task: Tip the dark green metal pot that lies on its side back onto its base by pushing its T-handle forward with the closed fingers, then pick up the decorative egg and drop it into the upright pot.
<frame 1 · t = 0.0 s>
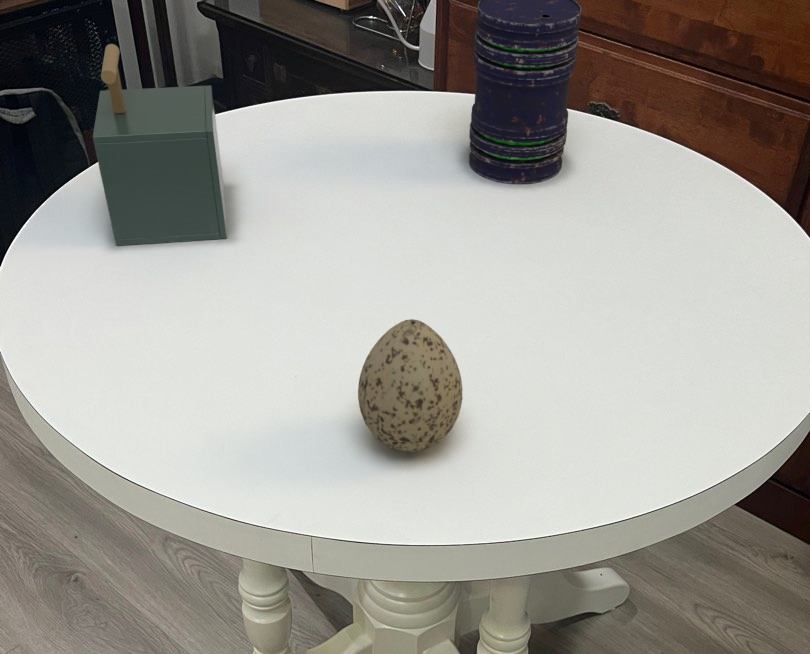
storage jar: (514, 164, 103), on the table
pot: (172, 216, 94), on the table
decorative egg: (409, 444, 71), on the table
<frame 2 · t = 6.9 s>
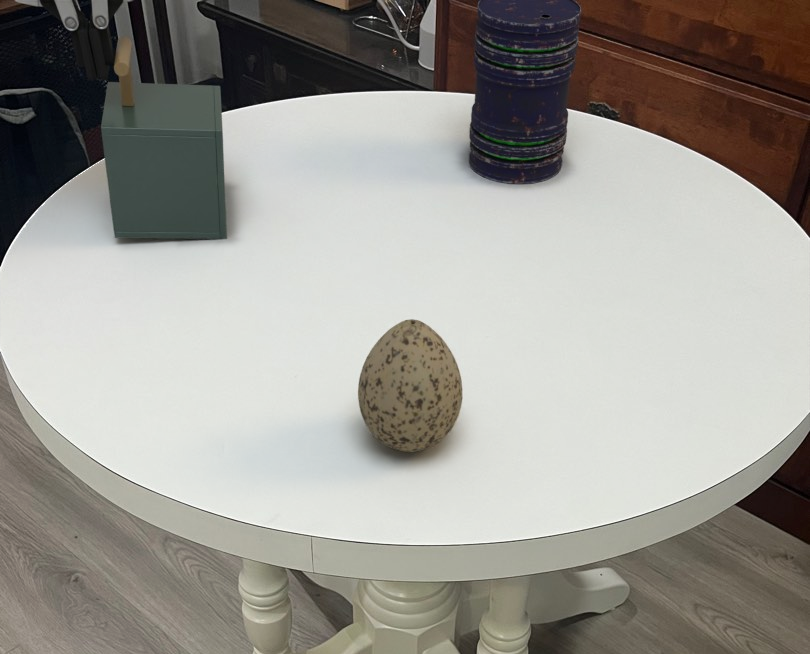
hand: (99, 73, 85), 13 cm above the table, tool pointing down, fingers closed
pot: (172, 212, 94), on the table, touching gripper
everything else where it was.
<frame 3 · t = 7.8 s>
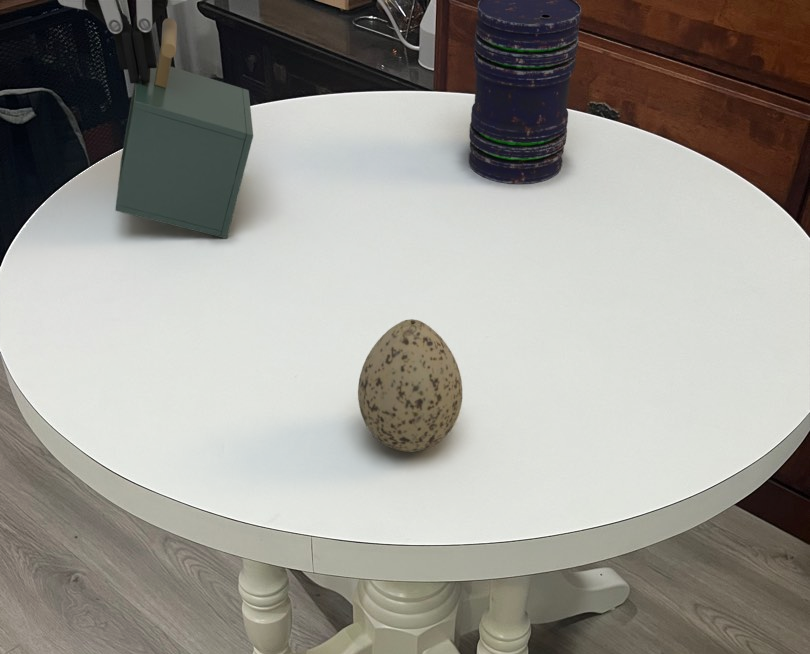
hand: (140, 76, 85), 13 cm above the table, tool pointing down, fingers closed
pot: (172, 199, 93), point 2 cm above the table, tilted 20°, touching gripper
everything else where it was.
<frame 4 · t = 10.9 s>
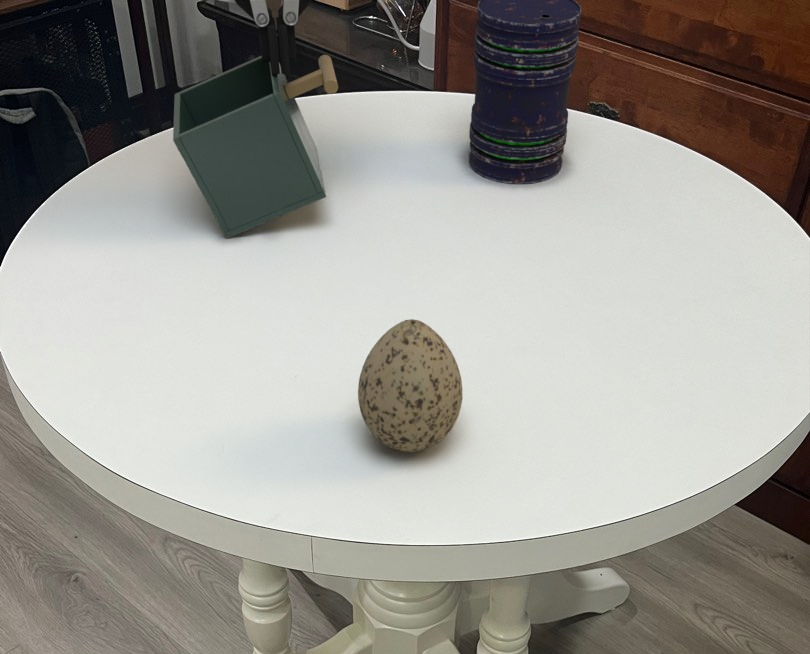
hand: (280, 69, 86), 13 cm above the table, tool pointing down, fingers closed
pot: (200, 166, 91), point 5 cm above the table, tilted 70°, touching gripper
everything else where it was.
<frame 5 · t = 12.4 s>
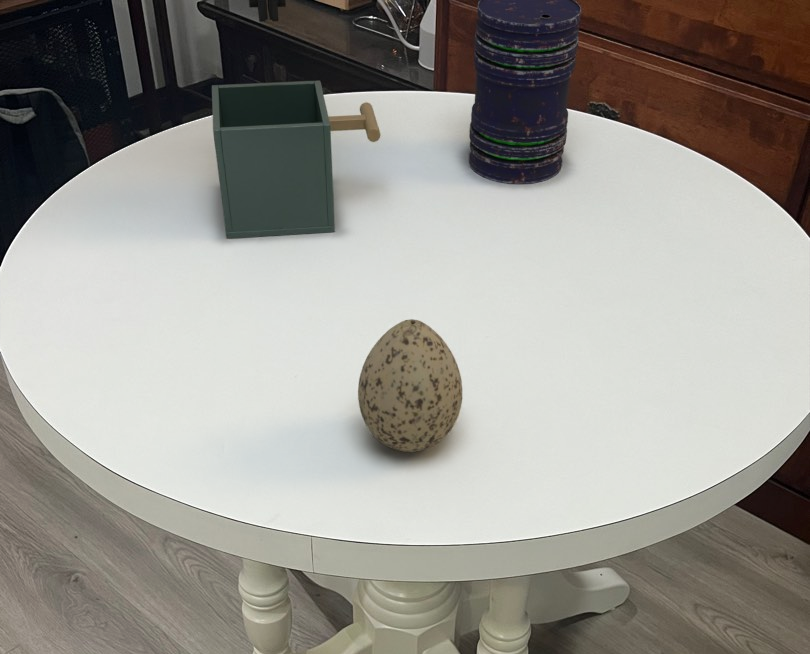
hand: (268, 15, 83), 17 cm above the table, tool pointing down, fingers closed
pot: (219, 162, 91), point 5 cm above the table, tilted 90°
everything else where it was.
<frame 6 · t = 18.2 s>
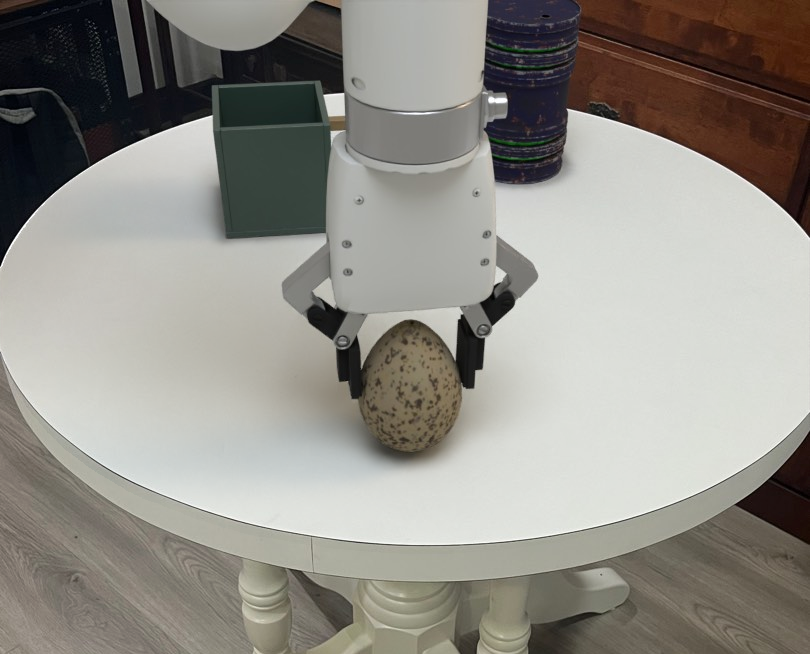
hand: (409, 380, 67), 5 cm above the table, tool pointing down, fingers closed on decorative egg, 7 cm apart
decorative egg: (409, 444, 71), on the table, touching gripper
everything else where it was.
when the fingers open (13 cm above the table, at t = 25.6 s): decorative egg drops 7 cm, resting on pot.
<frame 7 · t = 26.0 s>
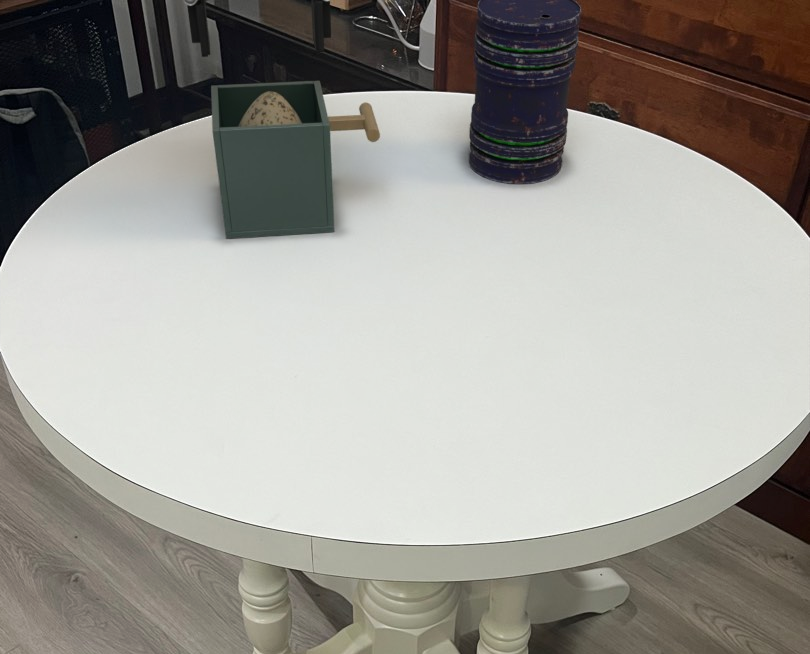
hand: (262, 49, 85), 15 cm above the table, tool pointing down, fingers open, 9 cm apart
pot: (218, 162, 91), point 5 cm above the table, tilted 90°, touching decorative egg
decorative egg: (273, 204, 95), point 1 cm above the table, touching pot
everything else where it was.
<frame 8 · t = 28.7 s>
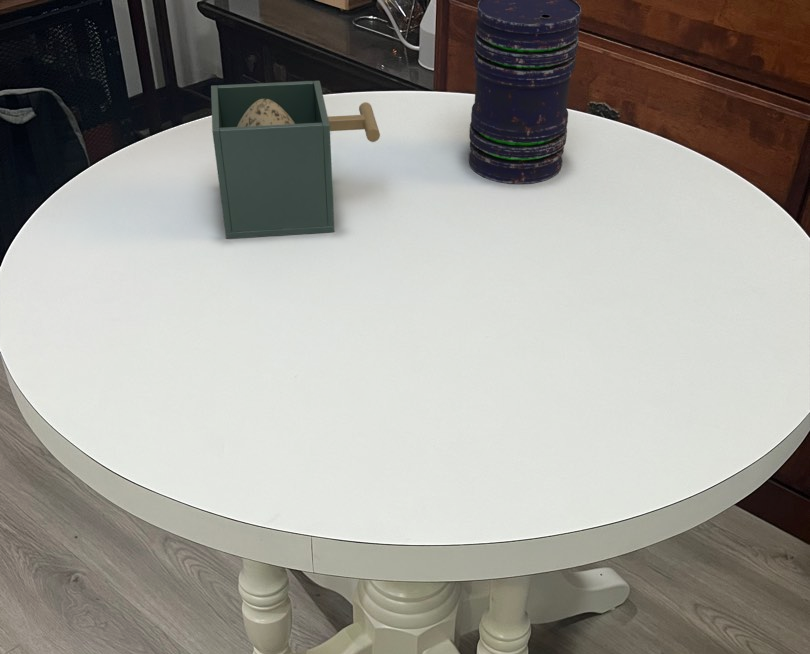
nothing on the table moved.
at the end: pot tilted 90°; decorative egg inside the target area on the pot (0.5 cm from its centre), point -4.6 cm above the pot's base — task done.
